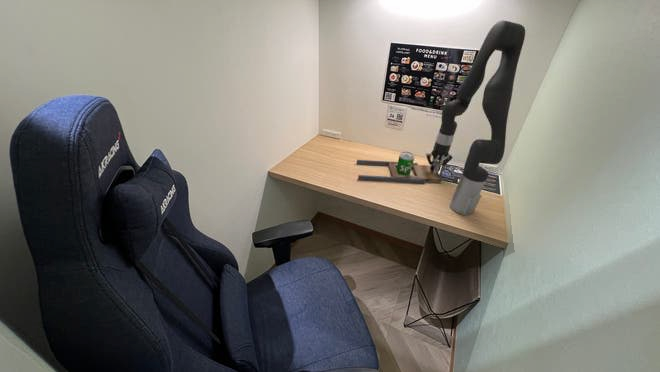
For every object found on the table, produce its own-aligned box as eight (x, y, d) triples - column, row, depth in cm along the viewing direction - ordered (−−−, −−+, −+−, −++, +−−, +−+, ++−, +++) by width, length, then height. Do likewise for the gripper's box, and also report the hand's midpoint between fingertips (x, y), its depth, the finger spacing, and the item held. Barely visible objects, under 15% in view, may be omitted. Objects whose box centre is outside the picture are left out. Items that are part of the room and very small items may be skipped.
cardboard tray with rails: (432, 168, 145) (436, 156, 141) (440, 182, 134) (445, 169, 129) (388, 166, 146) (390, 153, 141) (392, 179, 134) (395, 166, 129)
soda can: (393, 175, 139) (398, 155, 132) (397, 168, 144) (402, 149, 137) (407, 179, 136) (412, 159, 129) (411, 172, 141) (416, 153, 134)
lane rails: (416, 166, 147) (417, 163, 146) (424, 183, 133) (425, 179, 131) (356, 163, 147) (357, 159, 146) (358, 180, 133) (358, 176, 132)
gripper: (455, 139, 131) (444, 168, 141) (427, 137, 131) (419, 166, 141) (460, 145, 125) (449, 175, 135) (432, 144, 125) (423, 174, 135)
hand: (434, 171), depth 138 cm, fingers closed on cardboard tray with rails, 2 cm apart
